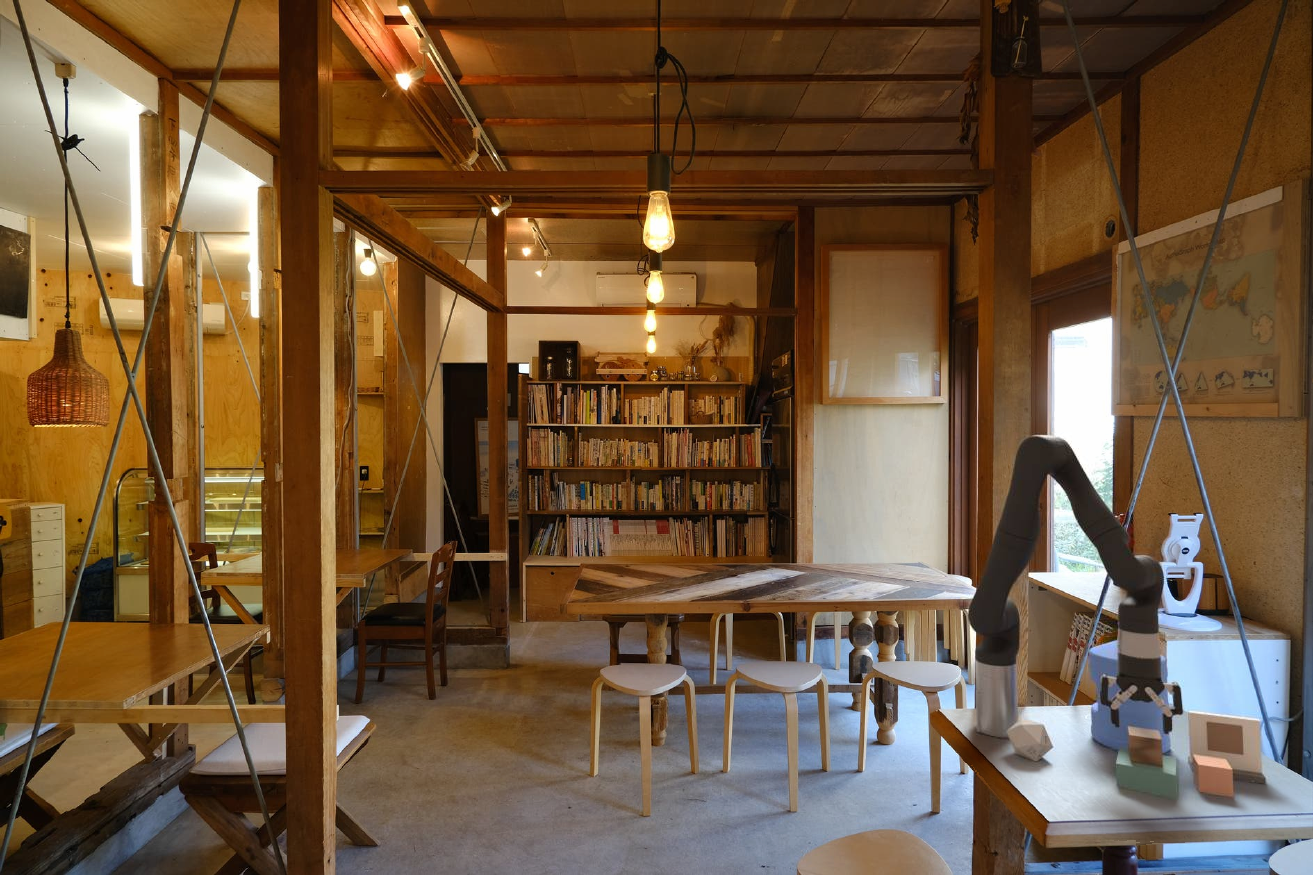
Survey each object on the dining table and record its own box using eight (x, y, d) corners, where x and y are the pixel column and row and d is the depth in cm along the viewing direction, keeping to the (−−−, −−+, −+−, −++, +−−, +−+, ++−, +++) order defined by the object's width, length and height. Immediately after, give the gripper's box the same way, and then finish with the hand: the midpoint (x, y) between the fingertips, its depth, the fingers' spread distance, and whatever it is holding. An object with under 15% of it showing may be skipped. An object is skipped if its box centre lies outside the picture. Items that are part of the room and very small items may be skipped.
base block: (1116, 787, 146) (1115, 763, 147) (1120, 770, 154) (1119, 746, 155) (1176, 800, 140) (1175, 775, 141) (1177, 781, 148) (1176, 757, 149)
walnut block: (1130, 761, 147) (1129, 734, 147) (1128, 752, 152) (1127, 725, 152) (1163, 766, 144) (1161, 739, 144) (1160, 756, 149) (1158, 730, 149)
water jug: (1186, 749, 163) (1181, 627, 164) (1140, 761, 158) (1135, 634, 158) (1120, 726, 178) (1116, 613, 179) (1076, 736, 172) (1071, 620, 173)
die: (1017, 766, 158) (1046, 736, 155) (992, 734, 165) (1019, 705, 162) (1039, 772, 161) (1068, 743, 158) (1014, 741, 168) (1040, 712, 166)
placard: (1193, 772, 152) (1191, 715, 152) (1188, 761, 157) (1186, 707, 157) (1265, 783, 146) (1263, 724, 146) (1257, 772, 151) (1255, 715, 152)
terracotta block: (1199, 791, 143) (1198, 764, 144) (1193, 780, 148) (1192, 754, 148) (1233, 797, 141) (1232, 769, 141) (1226, 786, 146) (1225, 758, 146)
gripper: (1177, 651, 149) (1179, 729, 149) (1097, 643, 156) (1099, 717, 155) (1184, 660, 142) (1186, 742, 142) (1100, 652, 149) (1102, 730, 149)
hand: (1140, 729), depth 149 cm, fingers open, 8 cm apart
